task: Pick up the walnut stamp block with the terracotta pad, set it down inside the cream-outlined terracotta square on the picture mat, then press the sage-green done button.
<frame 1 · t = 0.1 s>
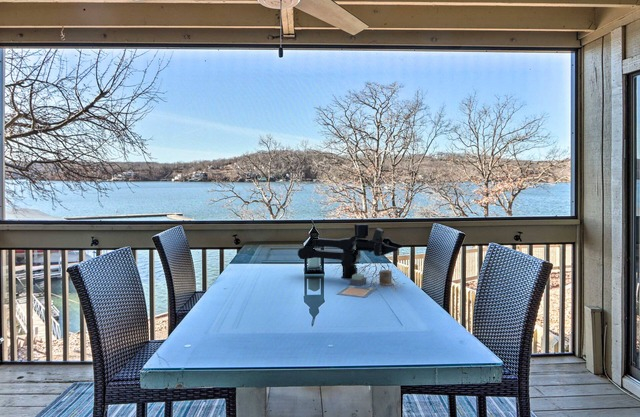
hand: (400, 247, 196), 16 cm above the table, tool horizontal, fingers open, 9 cm apart
picture mat: (356, 291, 182), on the table
stamp block: (385, 284, 194), on the table
button housing: (358, 283, 195), on the table
done button: (358, 277, 195), point 3 cm above the table, slide at 0.0 cm
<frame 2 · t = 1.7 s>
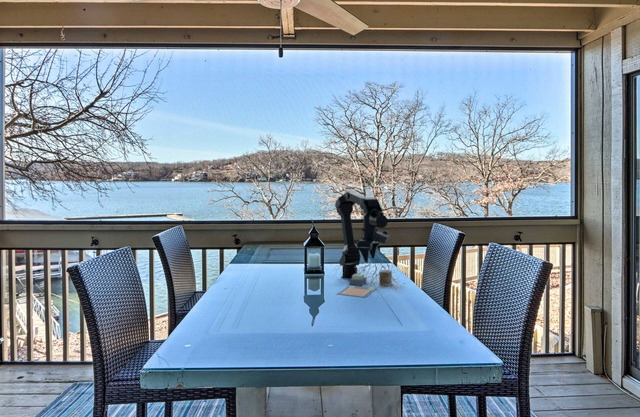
hand: (369, 260, 189), 12 cm above the table, tool pointing down, fingers open, 9 cm apart
nothing on the table moved.
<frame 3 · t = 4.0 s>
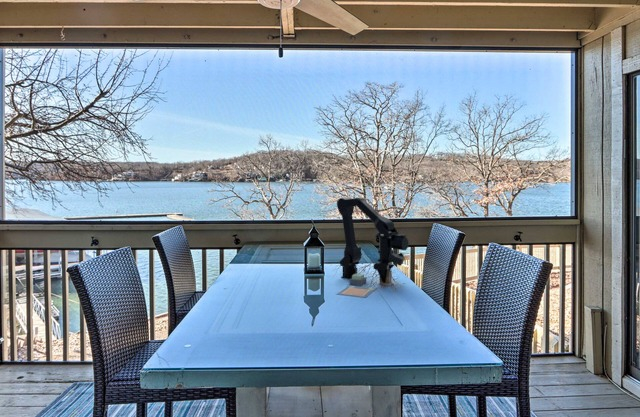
hand: (385, 281, 194), 1 cm above the table, tool pointing down, fingers closed on stamp block, 4 cm apart
stamp block: (385, 283, 194), on the table, touching gripper
everything else where it was.
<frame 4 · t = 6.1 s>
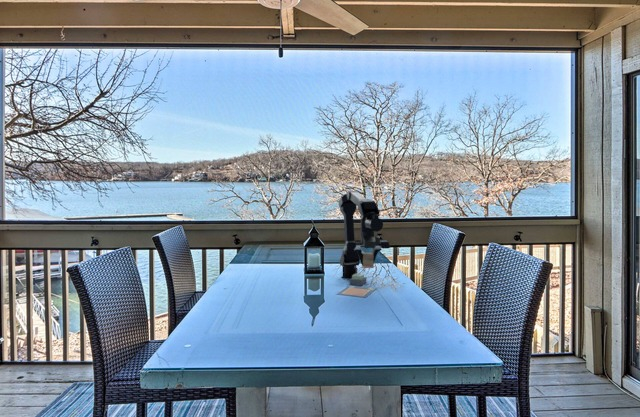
hand: (367, 264, 185), 11 cm above the table, tool pointing down, fingers closed on stamp block, 4 cm apart
stamp block: (367, 267, 185), point 10 cm above the table, touching gripper
everything else where it was.
when the fingers open (3 cm above the table, at t = 8.4 s): stamp block drops 2 cm, resting on picture mat.
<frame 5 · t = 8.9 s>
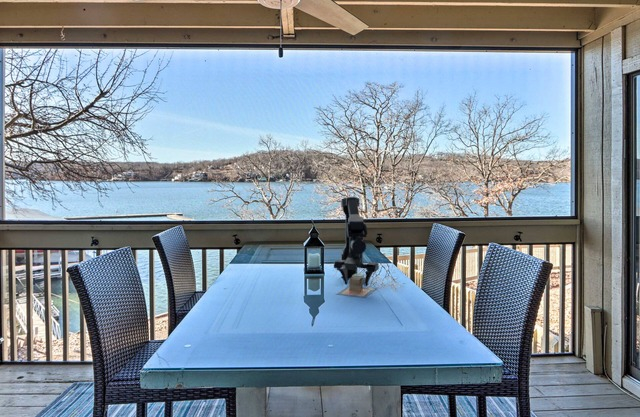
hand: (356, 285, 181), 3 cm above the table, tool pointing down, fingers open, 9 cm apart
stamp block: (356, 291, 181), resting on picture mat
everything else where it was.
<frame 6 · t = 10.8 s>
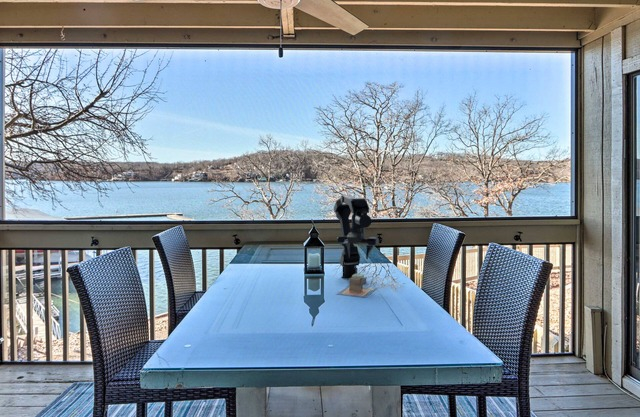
hand: (357, 258, 194), 12 cm above the table, tool pointing down, fingers open, 9 cm apart
nothing on the table moved.
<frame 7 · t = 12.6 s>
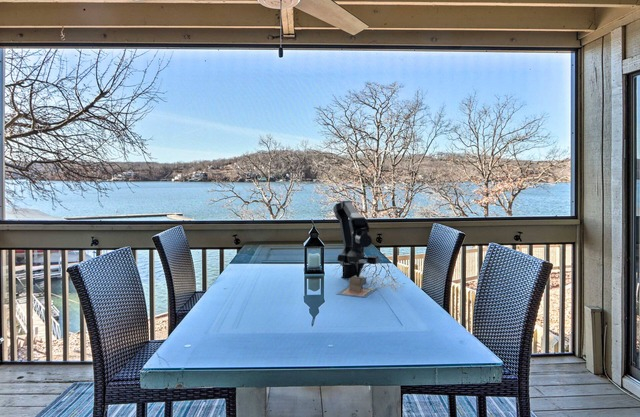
hand: (358, 276, 195), 3 cm above the table, tool pointing down, fingers closed, pressing on done button
done button: (358, 278, 195), point 2 cm above the table, slide at 0.9 cm, touching gripper
everything else where it was.
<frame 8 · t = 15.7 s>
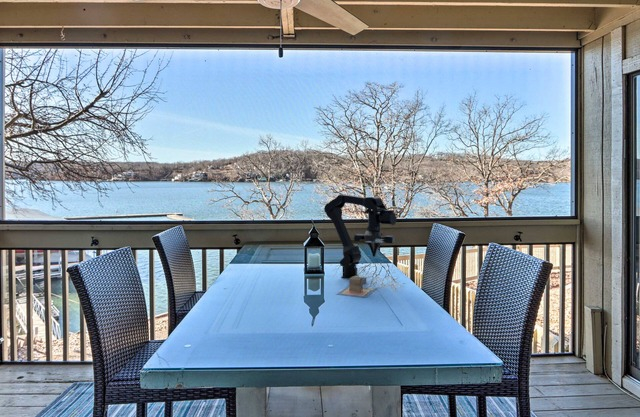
hand: (374, 256, 197), 12 cm above the table, tool pointing down, fingers closed
done button: (358, 279, 195), point 2 cm above the table, slide at 1.1 cm
everything else where it was.
at the end: stamp block 0.0 cm from the target spot, resting on picture mat; stamp block tilted 0°; done button slide at 1.1 cm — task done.
